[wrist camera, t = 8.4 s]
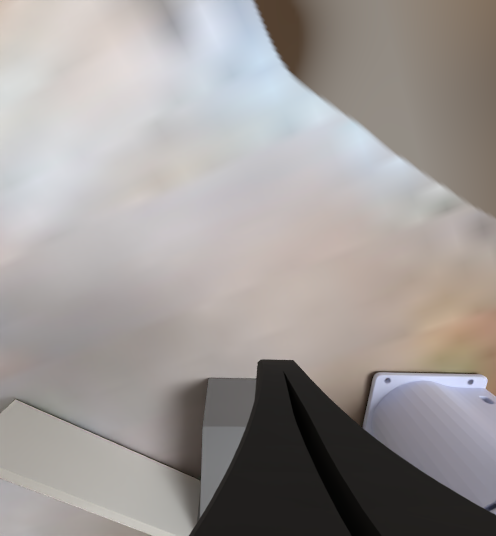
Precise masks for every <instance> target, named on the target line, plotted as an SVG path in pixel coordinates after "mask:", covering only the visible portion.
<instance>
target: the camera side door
mask: <svg viewBox="0 0 496 536" xmlns="http://www.w3.org/2000/svg"><path fill="white" fill-rule="evenodd" d="M0 478H1V479H3V480H6V481H9V482H11V483H14V484H17V485H19V486H22V487H25V488H27V489H30V490H33V491H35V492H38V493H41V494H43V495H46V496H48V497H51V498H54V499H56V500H59V501H62V502H64V503H67V504H70V505H72V506H75V507H78V508H80V509H83V510H86V511H88V512H91V513H94V514H96V515H99V516H102V517H104V518H107V519H110V520H112V521H115V522H117V523H120V524H123V525H125V526H128V527H131V528H133V529H136V530H139V531H141V532H144V533H147V534H149V535H152V536H189V535H190V533H191V531H192V530H193V528H194V527H195V525H196V524H197V522H198V520H199V519H200V497H201V481H200V480H198V479H196V478H193V477H191V476H189V475H186V474H184V473H182V472H180V471H177V470H175V469H173V468H170V467H168V466H166V465H164V464H161V463H159V462H157V461H155V460H152V459H150V458H148V457H145V456H143V455H141V454H139V453H136V452H134V451H132V450H129V449H127V448H125V447H123V446H120V445H118V444H116V443H114V442H111V441H109V440H107V439H104V438H102V437H100V436H98V435H95V434H93V433H91V432H88V431H86V430H84V429H82V428H79V427H77V426H75V425H73V424H70V423H68V422H66V421H63V420H61V419H59V418H57V417H54V416H52V415H50V414H47V413H45V412H43V411H41V410H38V409H36V408H34V407H32V406H29V405H27V404H25V403H22V402H20V401H18V400H16V399H15V400H14V401H13V402H12V403H11V404H10V405H9V406H8V407H7V408H6V409H4V410H3V411H2V412H1V413H0Z"/></svg>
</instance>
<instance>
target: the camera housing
mask: <svg viewBox="0 0 496 536" xmlns="http://www.w3.org/2000/svg"><path fill="white" fill-rule="evenodd" d="M255 389H256V379H233V378H209V379H208V387H207V395H206V403H205V411H204V419H203V431H202V464H201V497H200V517H201V516H202V514H203V513H204V511H205V509H206V508H207V506H208V504H209V503H210V501H211V499H212V497H213V495H214V493H215V492H216V490H217V488H218V486H219V484H220V482H221V481H222V479H223V477H224V475H225V473H226V471H227V469H228V467H229V465H230V463H231V461H232V459H233V457H234V455H235V452H236V450H237V448H238V446H239V444H240V441H241V439H242V436H243V434H244V431H245V429H246V426H247V423H248V420H249V417H250V414H251V411H252V407H253V404H254V401H255Z"/></svg>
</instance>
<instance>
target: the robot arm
mask: <svg viewBox="0 0 496 536" xmlns="http://www.w3.org/2000/svg"><path fill="white" fill-rule="evenodd" d="M386 378H387V379H386ZM385 379H386V380H385ZM487 381H488V380H487V378H486V377H484V376H483V375H481V374H439V373H390V372H379V373H376V374H375V375H374V377H373V380H372V385H371V390H370V394H369V399H368V404H367V408H366V413H365V417H364V422H363V427H361V426H359V425H358V424H357V423H356V422H355V421H354V420H352V419H351V418H350V417H349V416H348V415H347V414H346V413H345V412H344V411H342V410H341V409H340V408H339V407H338V406H337V405H336V404H335V403H334V402H333V401H332V400H331V399H330V398H329V397H328V396H327V395H326V394H325V393H324V392H323V391H322V390H321V389H320V388H319V387H318V386H317V385H316V384H315V383H314V382H313V381H312V380H311V379H310V378H309V377H308V376H307V375H306V373H305V372H304V371H303V370H302V369H301V368H300V367H299V366H298V365H297V364H296V363H295V362H294V361H293V360H260V361H259V362H258V366H257V378H256V389H255V401H254V404H253V407H252V411H251V414H250V417H249V420H248V423H247V426H246V429H245V431H244V434H243V436H242V439H241V441H240V444H239V446H238V448H237V450H236V452H235V455H234V457H233V459H232V461H231V463H230V465H229V467H228V469H227V471H226V473H225V475H224V477H223V479H222V481H221V482H220V484H219V486H218V488H217V490H216V492H215V493H214V495H213V497H212V499H211V501H210V503H209V504H208V506H207V508H206V509H205V511H204V513H203V514H202V516H201V517H200V519H199V520H198V522H197V524H196V525H195V527H194V528H193V530H192V531H191V533H190V535H189V536H496V396H494V395H493V394H492V393H490V392H489V391H488V390H486V389H485V388H486V385H487Z"/></svg>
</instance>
